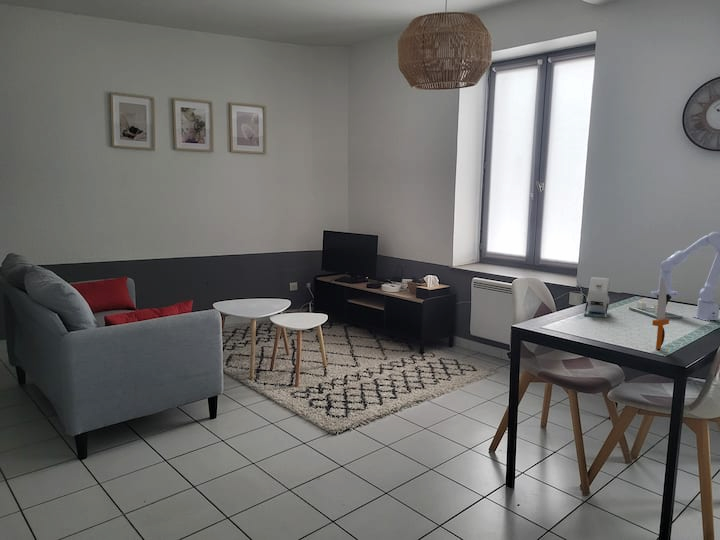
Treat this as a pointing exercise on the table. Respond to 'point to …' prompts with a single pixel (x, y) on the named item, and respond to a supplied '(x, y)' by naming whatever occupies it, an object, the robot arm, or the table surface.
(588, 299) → the robotic device
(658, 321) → the knife
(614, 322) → the table surface
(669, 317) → the panel
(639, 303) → the breaker
